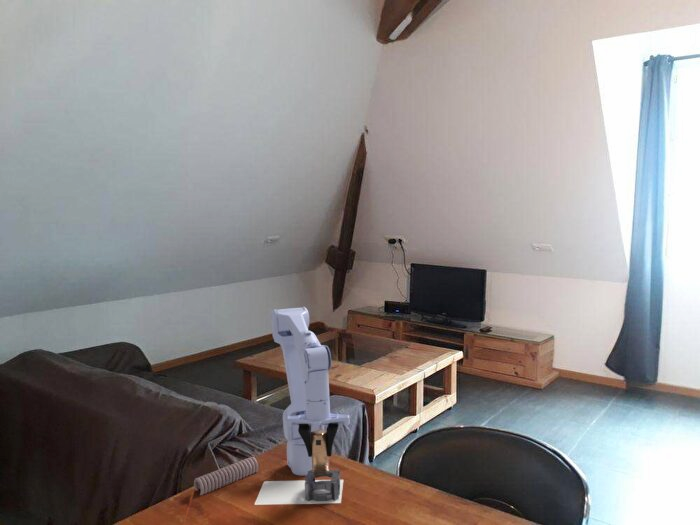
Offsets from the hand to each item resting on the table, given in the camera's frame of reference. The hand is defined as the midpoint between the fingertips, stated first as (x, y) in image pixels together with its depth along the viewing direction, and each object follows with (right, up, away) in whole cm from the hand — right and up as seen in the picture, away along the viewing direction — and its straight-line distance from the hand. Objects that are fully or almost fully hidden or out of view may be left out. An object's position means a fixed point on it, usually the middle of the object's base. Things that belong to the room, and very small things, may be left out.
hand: (320, 455), depth 133 cm
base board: (-5, -11, +2) cm, 12 cm away
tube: (0, -4, 0) cm, 4 cm away
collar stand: (+1, -10, +1) cm, 10 cm away
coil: (-24, -11, +10) cm, 28 cm away
